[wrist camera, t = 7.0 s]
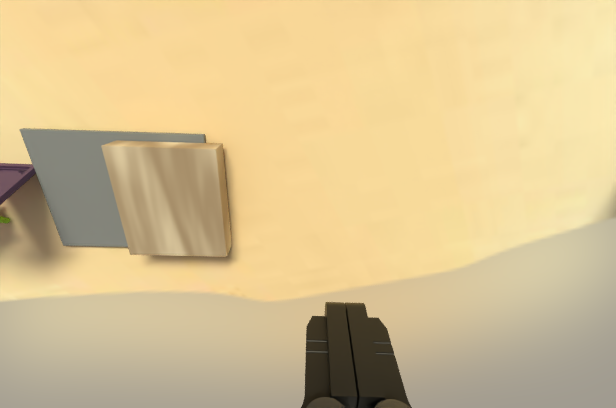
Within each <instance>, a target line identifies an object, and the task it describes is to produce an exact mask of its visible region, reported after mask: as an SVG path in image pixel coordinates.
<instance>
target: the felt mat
mask: <svg viewBox="0 0 616 408" xmlns="http://www.w3.org/2000/svg"><path fill="white" fill-rule="evenodd" d="M20 132H21V135H22V137H23V140H24V143H25V145H26V148H27V151H28V153H29V156H30V159H31V161H32V164H33V167H34V169H35V172H36V174H37V177H38V180H39V182H40V185H41V188H42V190H43V193H44V196H45V198H46V201H47V204H48V206H49V209H50V212H51V214H52V217H53V220H54V222H55V225H56V228H57V230H58V233H59V235H60V238H61V241H62V243H63V245H64V246H110V247H128V244H127V241H126V237H125V233H124V229H123V226H122V222H121V218H120V214H119V211H118V207H117V203H116V199H115V196H114V192H113V188H112V184H111V181H110V177H109V173H108V170H107V166H106V162H105V158H104V155H103V151H102V147H101V146H102V145H105V144H108V143H111V142H113V141H116V140H121V141H153V142H185V143H206V140H205V134H181V133H150V132H119V131H87V130H56V129H25V128H23V129H20Z"/></svg>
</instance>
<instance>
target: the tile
mask: <svg viewBox="0 0 616 408" xmlns="http://www.w3.org/2000/svg"><path fill="white" fill-rule="evenodd" d="M101 147H102V151H103V155H104V158H105V162H106V166H107V170H108V173H109V177H110V181H111V184H112V188H113V192H114V196H115V199H116V203H117V207H118V211H119V214H120V218H121V222H122V226H123V229H124V233H125V237H126V241H127V244H128V248H129V252H130V255H170V256H217V257H227V255H228V252H229V250H230V248H231V245H232V243H231V232H230V221H229V210H228V199H227V188H226V176H225V165H224V154H223V144H217V143H185V142H153V141H121V140H116V141H113V142H111V143H108V144H105V145H102V146H101Z"/></svg>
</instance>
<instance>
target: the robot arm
mask: <svg viewBox="0 0 616 408" xmlns="http://www.w3.org/2000/svg"><path fill="white" fill-rule="evenodd" d="M301 408H412V407H411V406H410V404H409V402H408V399H407V396H406V393H405V390H404V386H403V383H402V379H401V376H400V373H399V369H398V365H397V362H396V358H395V356H394V351H393V348H392V345H391V341H390V338H389V334H388V331H387V328H386V327H385V326H384V325H383V323H382V322H381V321H380V319H379V318H368V316H367V312H366V308H365V305H364V303H345V304H344V303H336V302H326V304H325V316H312V318H311V320H310V321H309V323H308V326H307V334H306V370H305V397H304V402H303V405H302V407H301Z"/></svg>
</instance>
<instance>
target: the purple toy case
mask: <svg viewBox="0 0 616 408" xmlns="http://www.w3.org/2000/svg"><path fill="white" fill-rule="evenodd" d="M35 173H36V172H35V169H34V167H33V164H6V163H0V205H1V204H2V203H3V202H4V201H5V200H6V199H8V198H9V197H10V196H11V195H12V194H13V193H14V192H15V191H16V190H18V189H19V188H20V187H21V186H22V185H23V184H24V183H25V182H27V181H28V180H29V179H30V178H31V177H32V176H33V175H34V174H35ZM9 222H10V219H9V218H5V217H2V216H0V223H9Z"/></svg>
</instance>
